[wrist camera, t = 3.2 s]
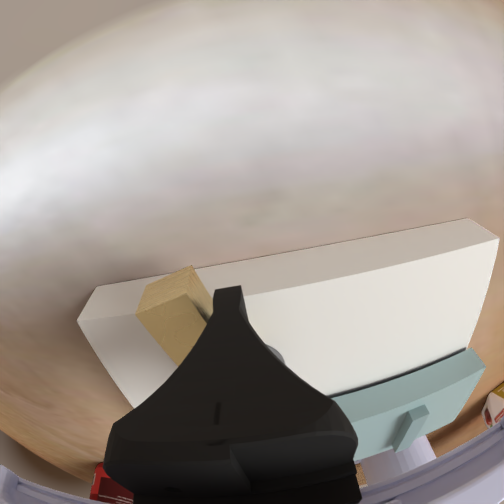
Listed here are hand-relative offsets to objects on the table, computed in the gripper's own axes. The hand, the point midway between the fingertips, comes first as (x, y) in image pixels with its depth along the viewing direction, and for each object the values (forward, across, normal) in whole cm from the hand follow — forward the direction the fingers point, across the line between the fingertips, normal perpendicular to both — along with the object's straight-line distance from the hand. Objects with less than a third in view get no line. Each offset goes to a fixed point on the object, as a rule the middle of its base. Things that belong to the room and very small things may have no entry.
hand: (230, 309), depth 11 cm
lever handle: (+1, +1, +2) cm, 3 cm away
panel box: (+4, -4, +9) cm, 11 cm away
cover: (+1, -9, +12) cm, 15 cm away
